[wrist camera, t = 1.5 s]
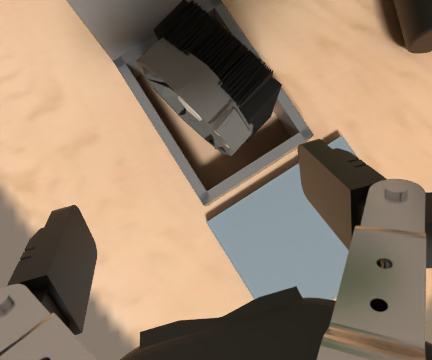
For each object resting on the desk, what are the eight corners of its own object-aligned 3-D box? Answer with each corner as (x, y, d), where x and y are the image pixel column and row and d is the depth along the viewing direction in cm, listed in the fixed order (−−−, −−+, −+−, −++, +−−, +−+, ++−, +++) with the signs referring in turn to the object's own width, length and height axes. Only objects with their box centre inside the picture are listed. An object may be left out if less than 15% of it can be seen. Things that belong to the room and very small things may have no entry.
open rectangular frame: (213, 7, 33) (198, -144, 19) (306, 142, 31) (363, 82, 18) (118, 66, 33) (35, -43, 19) (206, 206, 31) (184, 196, 17)
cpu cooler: (151, 93, 33) (115, 37, 23) (194, 50, 33) (176, -24, 23) (232, 169, 32) (231, 145, 22) (275, 123, 32) (294, 79, 22)
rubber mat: (339, 137, 31) (341, 135, 31) (413, 243, 30) (418, 243, 29) (206, 222, 31) (206, 222, 30) (275, 332, 30) (276, 335, 29)
